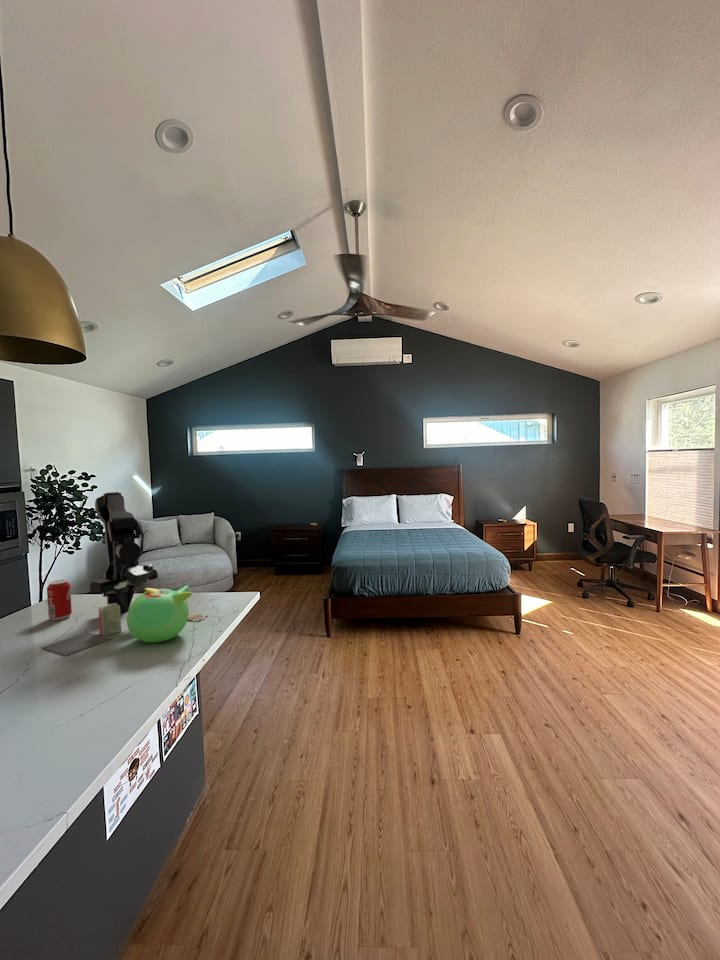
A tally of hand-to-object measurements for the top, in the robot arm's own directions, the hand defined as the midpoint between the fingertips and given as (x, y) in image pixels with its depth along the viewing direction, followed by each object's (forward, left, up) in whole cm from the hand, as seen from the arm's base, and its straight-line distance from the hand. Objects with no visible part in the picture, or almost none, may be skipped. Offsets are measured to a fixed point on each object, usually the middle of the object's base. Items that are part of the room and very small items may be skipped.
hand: (127, 608), depth 135 cm
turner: (+10, +12, -6) cm, 17 cm away
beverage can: (-29, -4, -6) cm, 30 cm away
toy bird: (+19, -2, -6) cm, 20 cm away
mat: (0, -15, -6) cm, 16 cm away
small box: (0, -5, -6) cm, 8 cm away
